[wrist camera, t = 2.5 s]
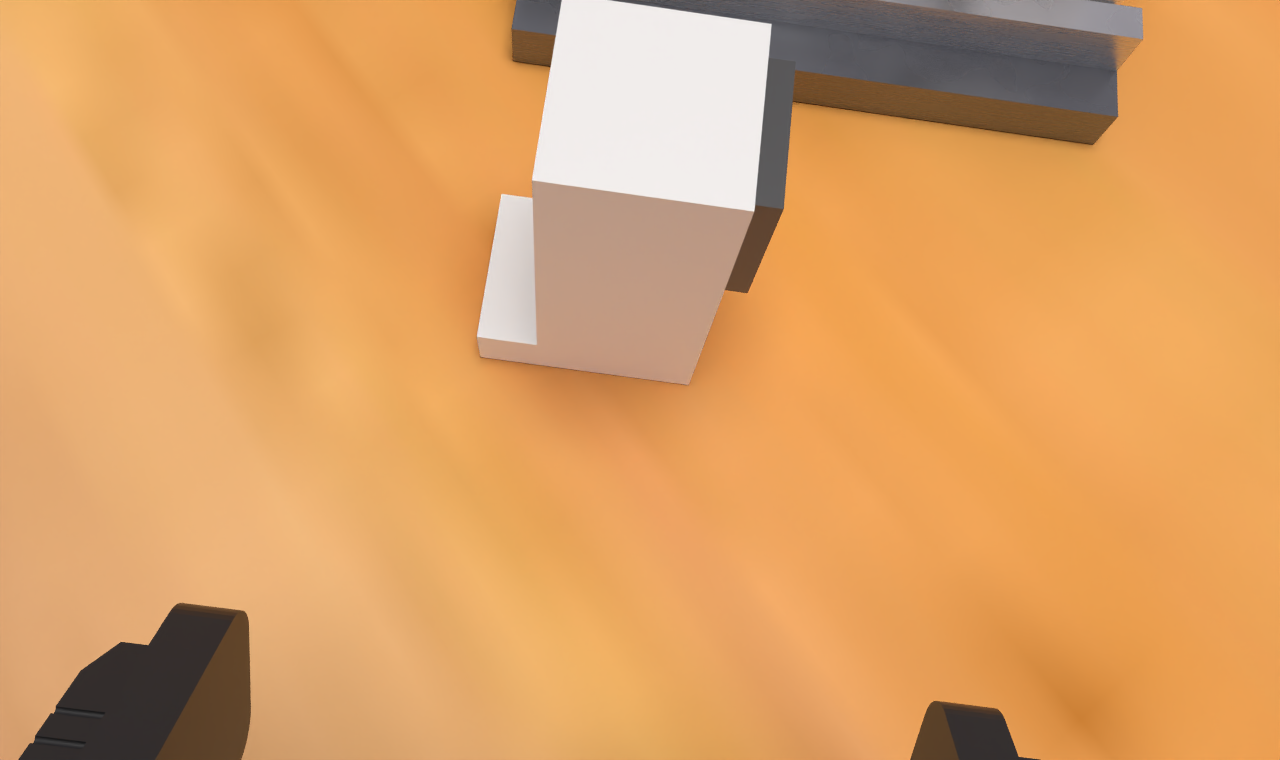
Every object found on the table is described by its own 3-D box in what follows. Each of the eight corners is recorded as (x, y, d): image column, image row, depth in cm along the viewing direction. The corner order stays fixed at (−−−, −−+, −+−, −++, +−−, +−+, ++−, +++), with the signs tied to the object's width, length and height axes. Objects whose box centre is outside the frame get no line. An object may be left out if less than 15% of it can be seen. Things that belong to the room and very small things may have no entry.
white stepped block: (480, 356, 29) (447, 168, 20) (503, 219, 31) (483, -19, 21) (711, 388, 30) (786, 216, 20) (725, 250, 31) (802, 28, 22)
